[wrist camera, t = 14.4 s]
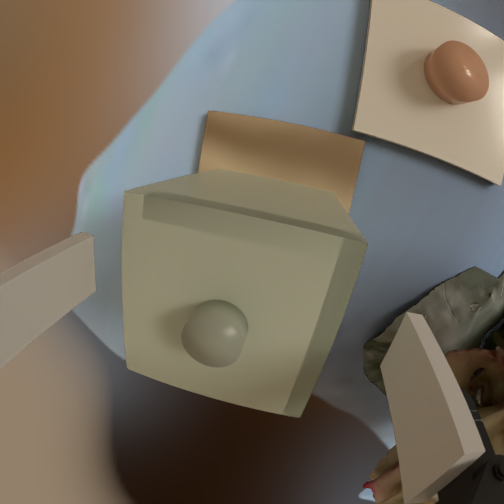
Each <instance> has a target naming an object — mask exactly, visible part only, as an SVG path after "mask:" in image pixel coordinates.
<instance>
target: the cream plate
mask: <svg viewBox="0 0 504 504" xmlns="http://www.w3.org/2000/svg"><path fill="white" fill-rule="evenodd" d="M351 131H353V132H357V133H360V134H364V135H367V136H371V137H374V138H377V139H381V140H384V141H387V142H390V143H393V144H396V145H399V146H402V147H405V148H408V149H411V150H414V151H417V152H419V153H422V154H425V155H428V156H430V157H433V158H435V159H438V160H441V161H443V162H446V163H448V164H450V165H453V166H455V167H458V168H460V169H462V170H465V171H467V172H469V173H471V174H474V175H476V176H478V177H480V178H482V179H484V180H487V181H489V182H491V183H493V184H495V185H499V186H501V184H502V179H503V174H504V40H502V39H500V38H499V37H497V36H496V35H494V34H493V33H491V32H489V31H488V30H486V29H484V28H483V27H481V26H479V25H477V24H476V23H474V22H472V21H470V20H468V19H467V18H465V17H463V16H461V15H459V14H457V13H455V12H453V11H451V10H449V9H447V8H445V7H443V6H440V5H438V4H436V3H434V2H431V1H429V0H370V10H369V19H368V28H367V37H366V44H365V52H364V59H363V66H362V72H361V79H360V85H359V91H358V97H357V103H356V108H355V114H354V119H353V125H352V130H351Z"/></svg>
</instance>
